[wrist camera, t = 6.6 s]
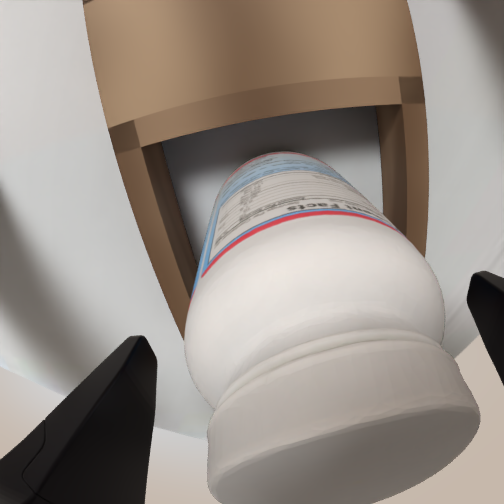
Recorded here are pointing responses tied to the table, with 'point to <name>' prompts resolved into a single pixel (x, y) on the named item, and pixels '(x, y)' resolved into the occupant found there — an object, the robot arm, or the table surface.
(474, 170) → the table surface
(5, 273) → the table surface
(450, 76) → the table surface
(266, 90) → the caddy
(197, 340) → the pill bottle
